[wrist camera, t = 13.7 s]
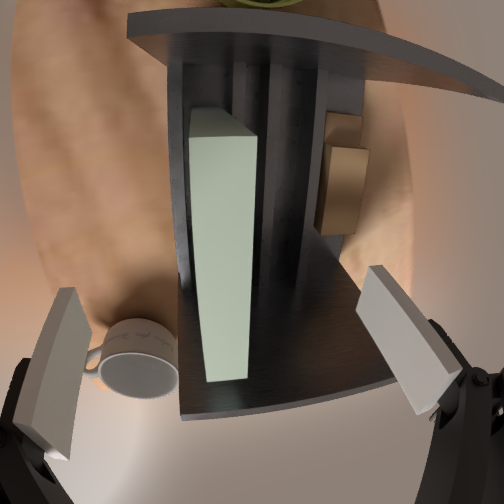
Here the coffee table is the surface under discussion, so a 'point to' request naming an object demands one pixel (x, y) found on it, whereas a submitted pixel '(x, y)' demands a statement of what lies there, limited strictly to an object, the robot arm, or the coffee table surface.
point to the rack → (280, 190)
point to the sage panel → (222, 236)
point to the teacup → (137, 360)
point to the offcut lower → (341, 130)
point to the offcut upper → (340, 188)
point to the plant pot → (258, 3)
